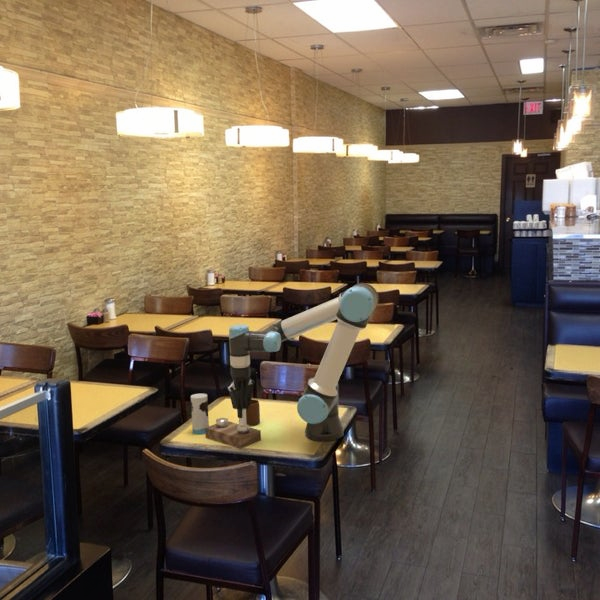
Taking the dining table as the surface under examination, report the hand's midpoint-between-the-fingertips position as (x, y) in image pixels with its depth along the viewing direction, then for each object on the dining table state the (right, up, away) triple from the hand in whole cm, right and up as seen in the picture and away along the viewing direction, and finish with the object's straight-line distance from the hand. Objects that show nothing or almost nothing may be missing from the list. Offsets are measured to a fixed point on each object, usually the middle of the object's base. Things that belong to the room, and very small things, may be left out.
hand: (242, 425), depth 258 cm
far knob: (-9, -5, +9) cm, 13 cm away
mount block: (-4, -6, +5) cm, 9 cm away
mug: (0, -4, +21) cm, 21 cm away
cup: (-18, -6, +15) cm, 24 cm away
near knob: (0, -6, +1) cm, 6 cm away
